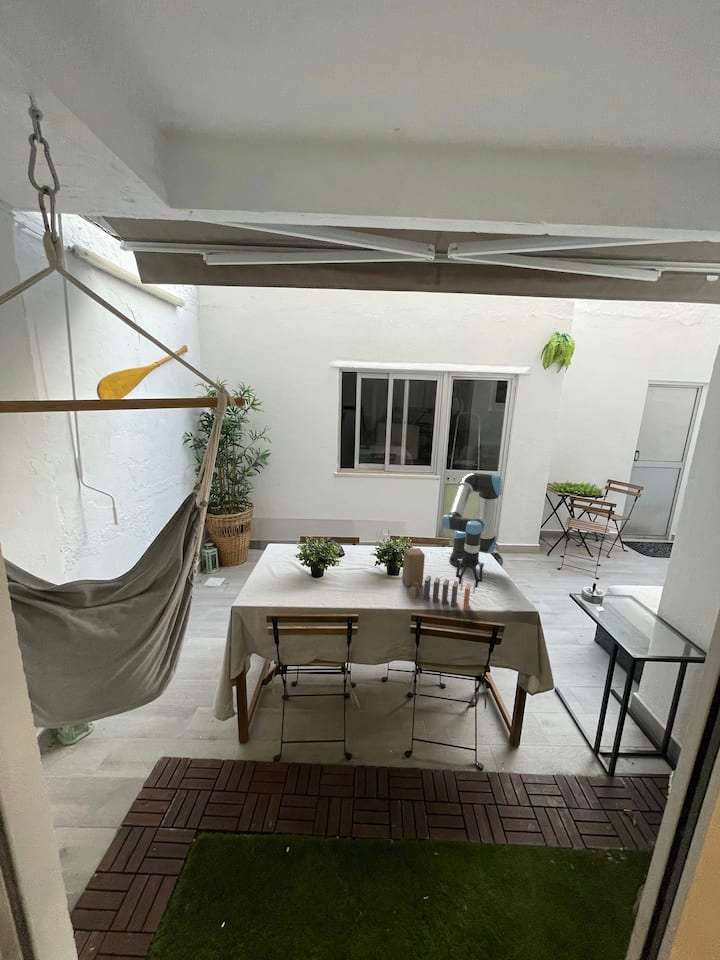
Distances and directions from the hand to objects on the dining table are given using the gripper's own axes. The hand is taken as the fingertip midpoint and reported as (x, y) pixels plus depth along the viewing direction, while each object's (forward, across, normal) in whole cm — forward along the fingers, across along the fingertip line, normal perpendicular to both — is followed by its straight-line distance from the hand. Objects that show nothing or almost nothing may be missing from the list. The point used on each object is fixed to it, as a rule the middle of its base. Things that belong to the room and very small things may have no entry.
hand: (467, 591), depth 216 cm
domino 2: (+9, -16, -1) cm, 19 cm away
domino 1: (+9, -22, -1) cm, 23 cm away
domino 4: (+9, -6, -1) cm, 11 cm away
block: (+10, -34, +13) cm, 37 cm away
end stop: (+9, -28, -1) cm, 30 cm away
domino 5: (+9, 0, -1) cm, 9 cm away
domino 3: (+9, -12, -1) cm, 15 cm away
